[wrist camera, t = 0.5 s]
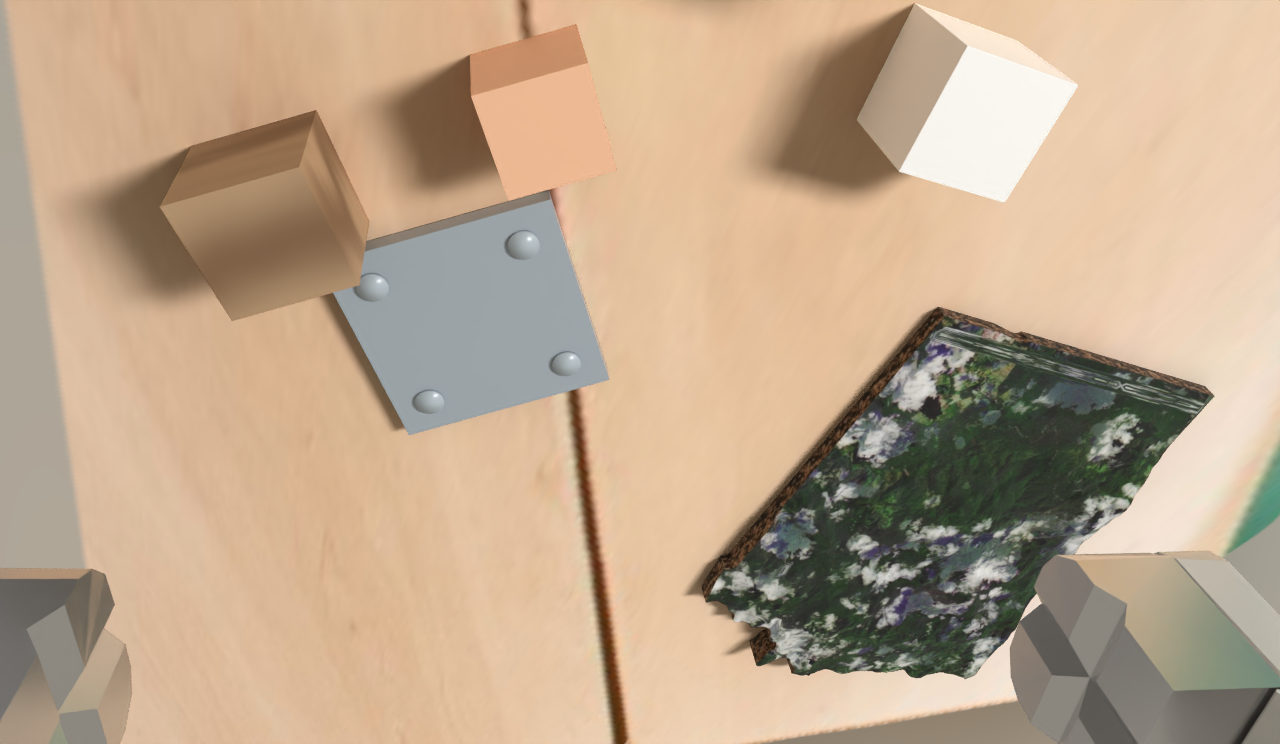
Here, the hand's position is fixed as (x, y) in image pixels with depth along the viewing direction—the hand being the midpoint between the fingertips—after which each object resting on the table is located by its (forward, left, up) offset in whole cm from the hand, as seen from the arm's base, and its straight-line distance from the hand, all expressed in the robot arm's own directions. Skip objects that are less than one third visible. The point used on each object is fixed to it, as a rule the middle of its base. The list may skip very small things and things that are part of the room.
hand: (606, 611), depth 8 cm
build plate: (+21, -8, -38) cm, 44 cm away
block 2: (+10, -1, -38) cm, 39 cm away
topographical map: (+48, +16, -39) cm, 64 cm away
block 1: (+11, -14, -38) cm, 42 cm away
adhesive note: (+15, +18, -38) cm, 45 cm away
